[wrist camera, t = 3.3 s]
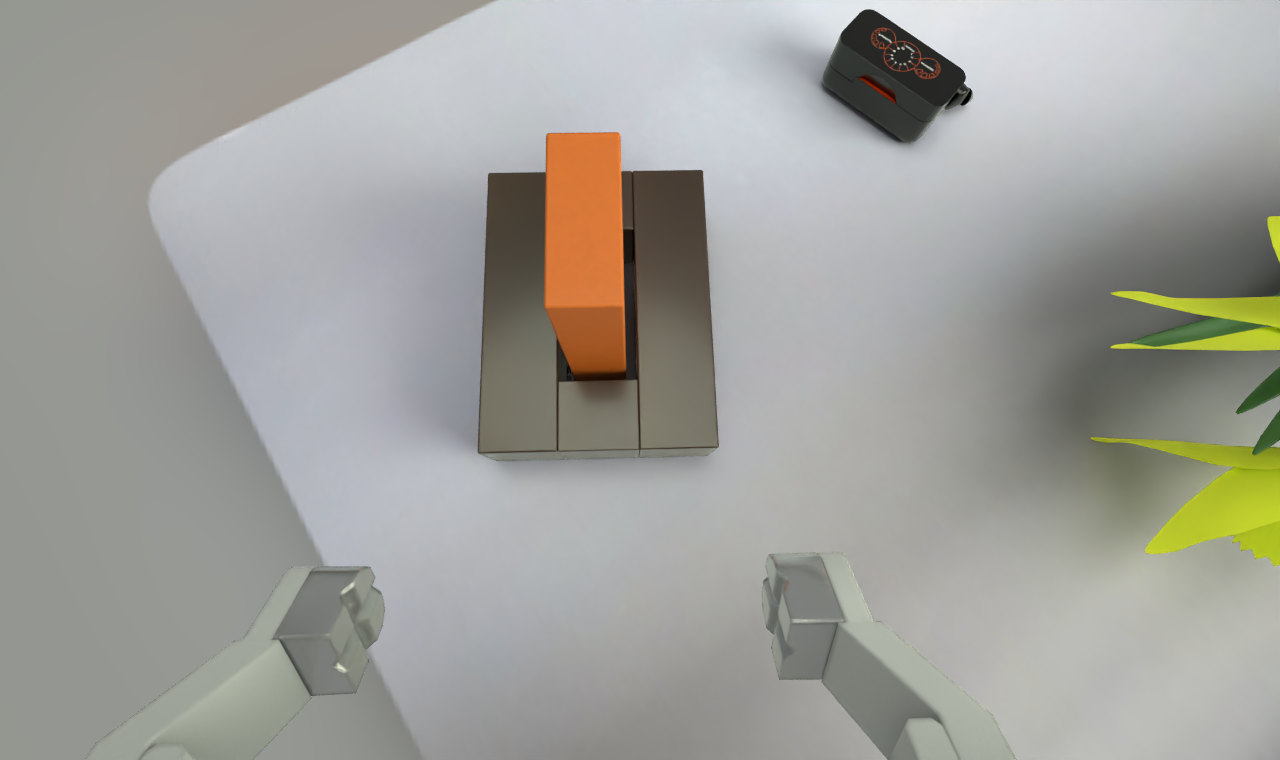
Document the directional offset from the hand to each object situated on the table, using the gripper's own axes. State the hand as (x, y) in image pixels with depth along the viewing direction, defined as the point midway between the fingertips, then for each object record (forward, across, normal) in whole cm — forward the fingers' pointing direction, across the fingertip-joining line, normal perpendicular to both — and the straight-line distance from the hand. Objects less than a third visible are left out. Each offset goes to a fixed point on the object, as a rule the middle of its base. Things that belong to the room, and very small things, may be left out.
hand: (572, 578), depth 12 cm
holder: (+18, 0, +3) cm, 18 cm away
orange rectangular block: (+18, 0, +3) cm, 18 cm away
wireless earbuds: (+27, -16, -6) cm, 32 cm away
